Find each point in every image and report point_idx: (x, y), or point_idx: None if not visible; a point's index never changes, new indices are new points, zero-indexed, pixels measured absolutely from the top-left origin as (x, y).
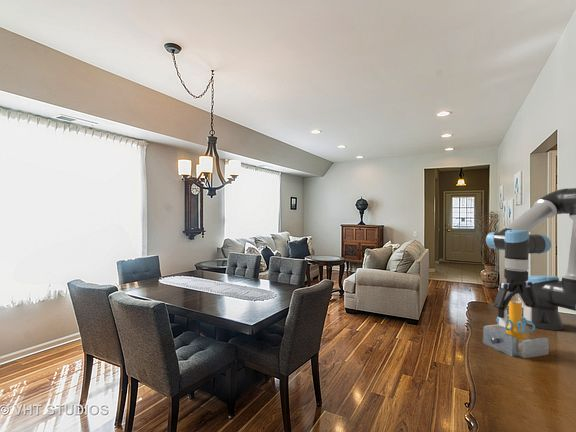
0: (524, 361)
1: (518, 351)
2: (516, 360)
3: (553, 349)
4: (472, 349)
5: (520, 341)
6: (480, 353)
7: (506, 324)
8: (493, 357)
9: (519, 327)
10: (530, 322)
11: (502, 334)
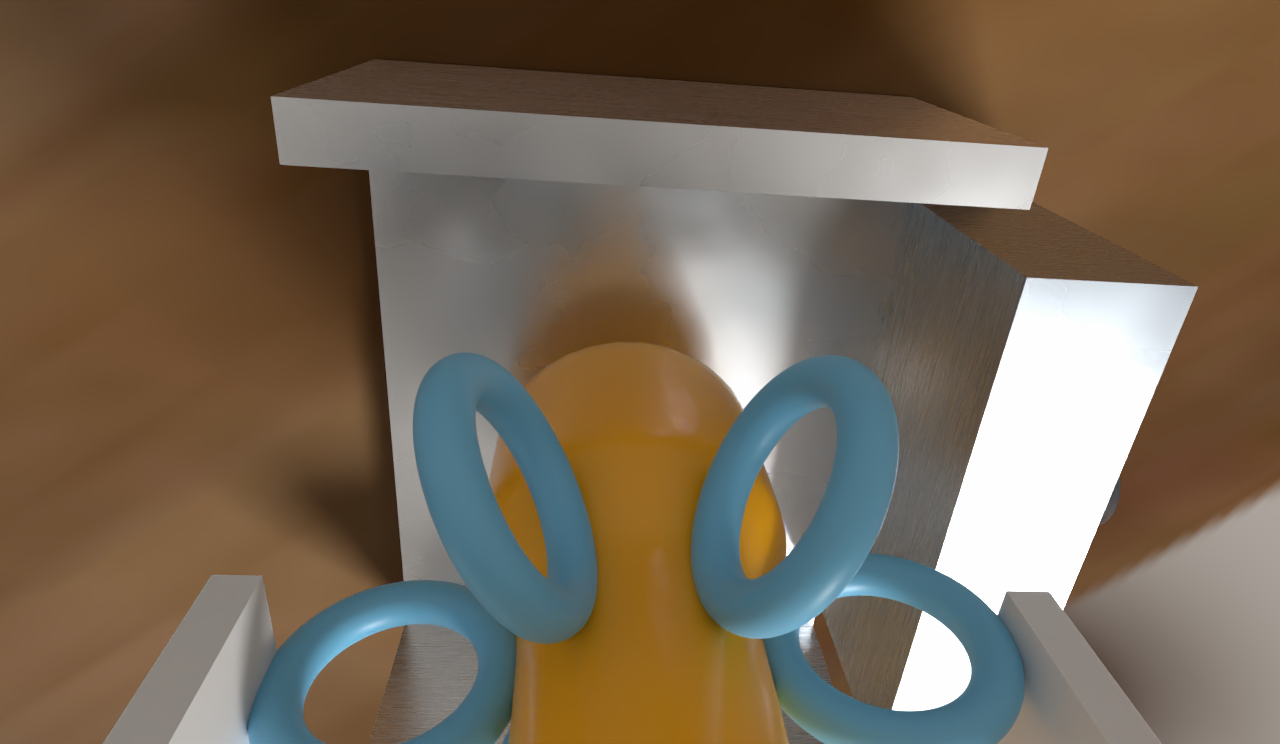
0: (1024, 16)
1: (869, 221)
2: (1094, 84)
3: (83, 167)
4: (1221, 487)
5: (676, 359)
6: (1269, 386)
7: (1049, 640)
8: (1264, 256)
9: (718, 524)
10: (499, 518)
11: (1096, 486)
